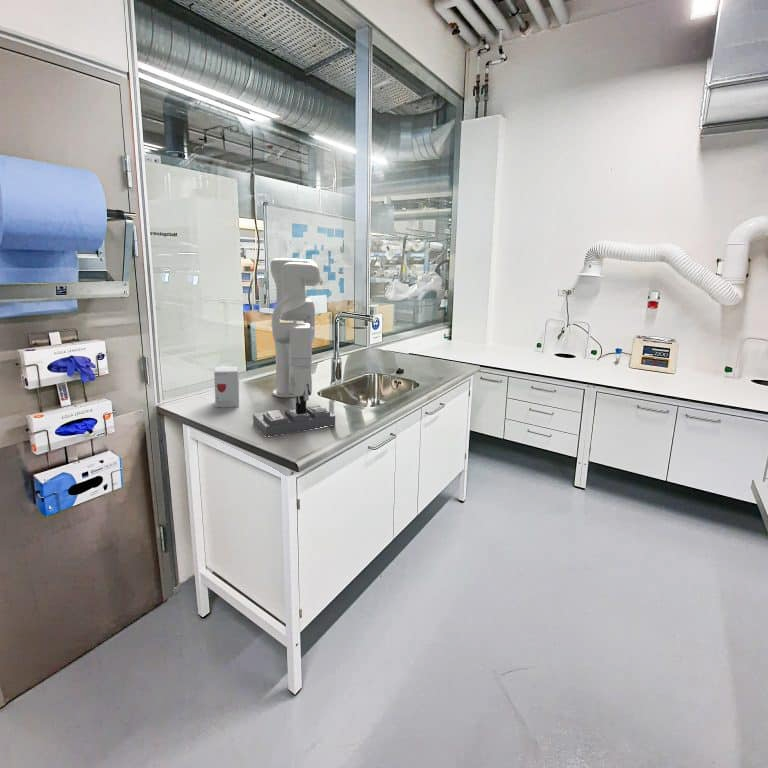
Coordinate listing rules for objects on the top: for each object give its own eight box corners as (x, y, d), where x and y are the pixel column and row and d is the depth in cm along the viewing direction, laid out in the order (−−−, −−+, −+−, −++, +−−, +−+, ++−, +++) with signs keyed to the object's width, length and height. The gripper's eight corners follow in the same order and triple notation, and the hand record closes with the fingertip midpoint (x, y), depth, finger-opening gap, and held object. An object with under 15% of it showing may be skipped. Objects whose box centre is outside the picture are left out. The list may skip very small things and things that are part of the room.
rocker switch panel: (253, 424, 163) (252, 409, 161) (318, 414, 177) (319, 400, 175) (266, 437, 152) (265, 422, 150) (335, 425, 166) (335, 411, 164)
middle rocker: (288, 413, 162) (288, 410, 162) (299, 412, 164) (298, 408, 164) (295, 416, 157) (294, 413, 157) (305, 415, 159) (305, 411, 159)
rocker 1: (267, 414, 158) (267, 410, 157) (278, 412, 160) (278, 409, 159) (272, 422, 153) (273, 419, 153) (284, 421, 155) (284, 417, 155)
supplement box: (215, 408, 178) (213, 371, 174) (216, 401, 186) (215, 366, 182) (239, 407, 180) (237, 371, 176) (239, 400, 189) (238, 365, 185)
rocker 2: (309, 411, 167) (309, 407, 166) (319, 409, 169) (318, 406, 169) (316, 412, 162) (315, 409, 161) (326, 411, 164) (325, 407, 164)
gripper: (282, 359, 157) (282, 409, 161) (299, 366, 145) (299, 421, 149) (302, 357, 161) (302, 406, 165) (320, 365, 149) (319, 417, 153)
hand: (300, 413), depth 157 cm, fingers closed
